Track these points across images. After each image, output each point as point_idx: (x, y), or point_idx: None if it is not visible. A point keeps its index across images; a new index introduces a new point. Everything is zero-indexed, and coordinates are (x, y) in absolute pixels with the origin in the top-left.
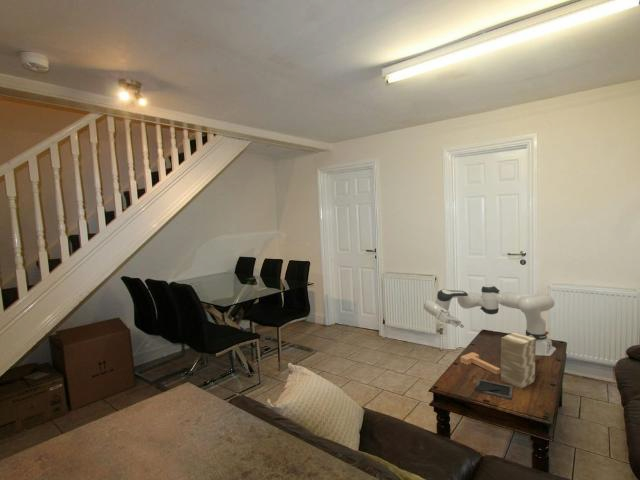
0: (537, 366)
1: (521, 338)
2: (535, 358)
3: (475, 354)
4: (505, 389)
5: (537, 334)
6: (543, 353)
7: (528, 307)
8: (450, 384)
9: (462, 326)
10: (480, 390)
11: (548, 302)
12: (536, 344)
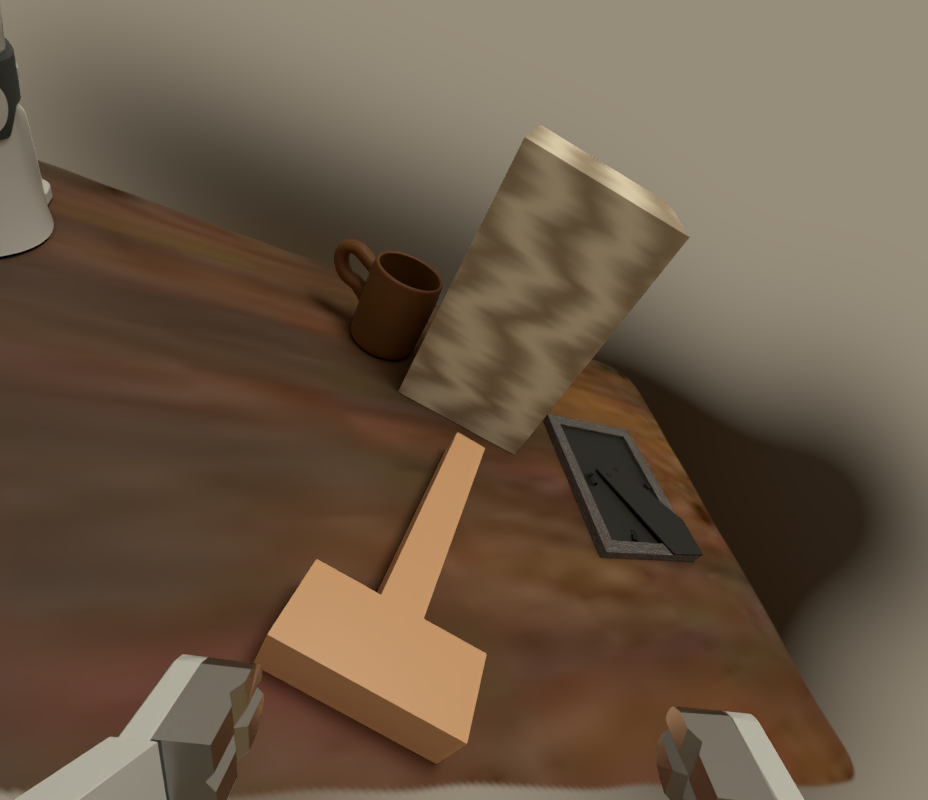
0: (408, 276)
1: (599, 168)
2: (364, 246)
3: (321, 595)
4: (585, 443)
5: (5, 50)
6: (44, 196)
7: None
8: (762, 705)
9: (254, 689)
10: (688, 531)
11: None
12: (19, 151)
